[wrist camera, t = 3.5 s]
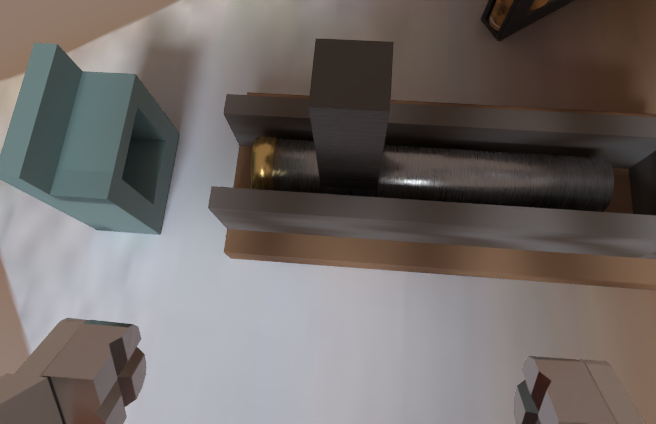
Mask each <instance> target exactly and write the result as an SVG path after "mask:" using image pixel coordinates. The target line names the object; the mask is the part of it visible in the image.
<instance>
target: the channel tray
mask: <svg viewBox="0 0 656 424" xmlns="http://www.w3.org/2000/svg"><path fill="white" fill-rule="evenodd" d="M309 99H310V96H304V95H285V94H266V93H247V95H231V94H227V95H226V101H225V107H224V115H225V117H226V119H227V121H228V123H229V125H230V127H231V129H232V131H233V133H234V135H235V137H236V139H237V141H238V143H239V145H240V147H239V154H238V160H237V167H236V174H235V181H234V187H233V188H228V187H213V186H212V188H211V194H210V200H209V206H208V208H209V209H210V211H211V212H212V213H213V214H214V215H215V216H216V217H217V218H218V219H219V220H220V221H221V223H222V224H223V225H224V226H225V227H226V228H227V235H226V241H225V248H224V253H225V254H226V255H228V256H229V257H230V258H233V259H247V260H260V261H273V262H287V263H300V264H314V265H327V266H341V267H354V268H367V269H381V270H394V271H408V272H421V273H434V274H448V275H461V276H475V277H488V278H502V279H515V280H528V281H542V282H555V283H569V284H582V285H595V286H609V287H622V288H636V289H649V290H656V114H642V113H623V112H605V111H586V110H567V109H548V108H529V107H511V106H492V105H473V104H454V103H435V102H417V101H398V100H390V114H389V119H388V125H387V131H386V137H385V143H384V145H393V146H410V147H427V148H444V149H461V150H478V151H495V152H512V153H529V154H546V155H563V156H580V157H597V158H606V159H607V160H608V161H609V162H610V163H611V165H612V168H613V171H614V191H613V195H612V199H611V201H610V203H609V205H608V207H607V208H606V210H605V211H604V212H594V211H579V210H564V209H548V208H533V207H518V206H503V205H487V204H472V203H457V202H442V201H426V200H411V199H396V198H381V197H365V196H350V195H335V194H319V193H304V192H289V191H274V190H258V189H252V185H251V175H250V166H251V154H252V148H253V144H254V141H255V139H256V137H275V138H280V139H291V140H308V141H314V139H313V132H312V126H311V119H310V113H309Z"/></svg>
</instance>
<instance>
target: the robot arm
mask: <svg viewBox="0 0 656 424" xmlns="http://www.w3.org/2000/svg"><path fill="white" fill-rule="evenodd" d="M140 340H141V336H140V332H139V328H138V326H136V325H134V324H125V323H115V322H106V321H96V320H82V319H73V318H66V319H64V320H62V321H60V322H59V323H58V324H57V325H56V326H55V328H54V329H53V330H52V331H51V332H50V333H49V334H48V336H47V337H46V338H45V339H44V340H43V341H42V343H41V344H40V345H39V346H38V347H37V348H36V349H35V351H34V352H33V353H32V354H31V355H30V356H29V358H28V359H27V360H26V361H25V362H24V363H23V364H22V366H21V367H20V368H19V369H18V370H17V371H16V373H15V374H5V375H4V376H1V377H0V424H123V423H124V421H125V419H126V417H127V416H126V412H125V408H124V407H126V406H127V405H128V404H130V403H131V402H133V401H134V400H136V399H137V397H138V395H139V393H140V391H141V389H142V386H143V382H144V379H145V375H146V360H145V355H144V353H143V352H142V351H141V350H140V349H138V348H137V345H138V343H139V342H140ZM522 372H523V375H524V378H525V380H524V381H523V382H522V383H520V384H519V385H517V388H516V392H515V396H514V416H515V423H516V424H646V423H645V421H644V420H643V418H642V416H641V415H640V413H639V411H638V410H637V408H636V406H635V405H634V403H633V401H632V400H631V398H630V396H629V395H628V393H627V391H626V390H625V388H624V386H623V385H622V383H621V381H620V379H619V378H618V376H617V374H616V373H615V371H614V369H613V368H612V366H611V365H610V364H609V363H607V362H606V361H595V360H576V359H563V358H549V357H535V356H528V357H527V359H526V360H525V362H524V365H523V368H522Z"/></svg>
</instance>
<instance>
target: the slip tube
mask: <svg viewBox="0 0 656 424" xmlns="http://www.w3.org/2000/svg"><path fill="white" fill-rule="evenodd" d="M392 58H393V42H380V41H358V40H336V39H316V42H315V52H314V61H313V71H312V80H311V90H310V99H309V113H310V119H311V126H312V132H313V139H314V141H308V140H291V139H280V138H275V137H256V139H255V141H254V144H253V148H252V154H251V166H250V175H251V185H252V189H258V190H274V191H289V192H304V193H319V194H335V195H350V196H365V197H381V198H396V199H411V200H426V201H442V202H457V203H472V204H487V205H503V206H518V207H533V208H548V209H564V210H579V211H594V212H604V211H605V210H606V208H607V207H608V205H609V203H610V201H611V199H612V195H613V191H614V171H613V168H612V165H611V163H610V162H609V161H608V160H607V159H606V158H597V157H580V156H563V155H546V154H529V153H512V152H495V151H478V150H461V149H444V148H427V147H410V146H393V145H384V143H385V137H386V131H387V125H388V119H389V114H390V98H391V78H392Z"/></svg>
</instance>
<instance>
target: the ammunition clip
mask: <svg viewBox="0 0 656 424" xmlns="http://www.w3.org/2000/svg"><path fill="white" fill-rule="evenodd" d="M573 1H575V0H489V1H488V4H487V6H486V8H485V11H484V13H483V15H482V18H481V20H482V21H483V23H484V24H485V25H486V26H487V28H488V29H489V30H490V31H491V32H492V34H493V35H494V36H495V37H496V39H497V40H499V41H500V40H502V39H504V38H506V37H508V36H509V35H511V34H513V33H515V32H517V31H519V30H521V29H522V28H524V27H526V26H528V25H530V24H532V23H534V22H535V21H537V20H539V19H541V18H543V17H545V16H547V15H548V14H550V13H552V12H554V11H556V10H558V9H560V8H562V7H563V6H565V5H567V4H569V3H571V2H573Z"/></svg>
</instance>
